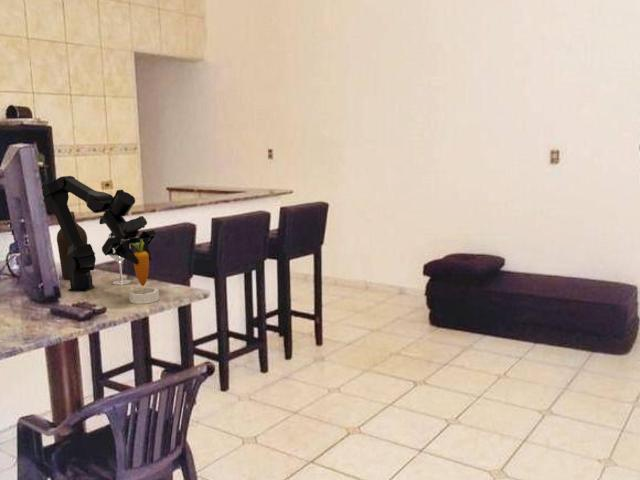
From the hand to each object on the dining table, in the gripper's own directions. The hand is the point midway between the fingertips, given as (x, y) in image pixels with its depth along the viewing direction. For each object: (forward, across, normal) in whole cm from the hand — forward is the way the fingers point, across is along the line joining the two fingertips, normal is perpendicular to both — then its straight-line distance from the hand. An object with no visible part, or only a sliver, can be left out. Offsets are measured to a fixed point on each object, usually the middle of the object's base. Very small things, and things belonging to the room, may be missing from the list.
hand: (144, 262), depth 197 cm
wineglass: (-10, +13, +28) cm, 33 cm away
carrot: (+5, 0, +7) cm, 8 cm away
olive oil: (-26, +11, +45) cm, 53 cm away
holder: (+8, 0, +10) cm, 13 cm away
